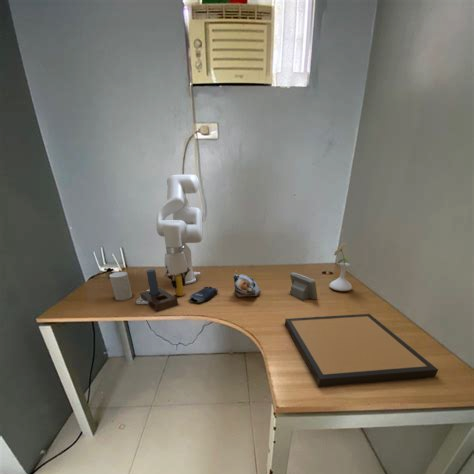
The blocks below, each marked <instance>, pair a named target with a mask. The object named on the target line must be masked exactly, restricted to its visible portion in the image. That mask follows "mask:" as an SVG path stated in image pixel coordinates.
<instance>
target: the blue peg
mask: <svg viewBox="0 0 474 474" xmlns="http://www.w3.org/2000/svg"><path fill="white" fill-rule="evenodd" d="M145 272H146V278H147V282H148V287H149V290H150V294H151V295H152V296H154V295H157V294H159V290H158V288H159V284H158V277H157V272H156V269H154V268H153V269H152V268H150V269H147V270H146V271H145Z"/></svg>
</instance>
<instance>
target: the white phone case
mask: <svg viewBox="0 0 474 474" xmlns="http://www.w3.org/2000/svg"><path fill="white" fill-rule="evenodd" d="M149 290H150V289H147V290H146V291H149ZM136 305H148V302H145V301H144V300H142V299H141V296H140V297H139V298H138V299H137V300H136Z"/></svg>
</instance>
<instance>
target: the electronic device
mask: <svg viewBox="0 0 474 474" xmlns="http://www.w3.org/2000/svg"><path fill="white" fill-rule="evenodd" d="M218 292H219V288H215V287H212V286H203V288H202V289H200V290H198V291H195V292H194V293H191V294H190V296H189V300H190V302H191V303H204V302H207V301H208V300H210V299H211V298H212V297H214V296H215V295H217V294H218Z"/></svg>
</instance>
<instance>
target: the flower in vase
mask: <svg viewBox="0 0 474 474" xmlns="http://www.w3.org/2000/svg"><path fill="white" fill-rule="evenodd" d="M346 245H347V243H346V242H343V243H341V245H340V246H338V247H337V249H336V250H335V251H334V254H333V256H338V255H339V254H340V253H342V258H341V259H339V260H338V261H337V264H339V266H340V275H339V276H338V278H336V279H334V280H333V281H331V282H330V283H329V288H330V289H332V290H334V291H336V292H337V291H338V292H348V291H351V290H352V289H353V286H352V284H351V283H350V282H349V281H348V280H347V278H346V272H347V269H348V268H349V267H350V265H351V264H350V263H349V256H348V255H346V256H345V255H344V251H343V250H344V248H345V247H346Z"/></svg>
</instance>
